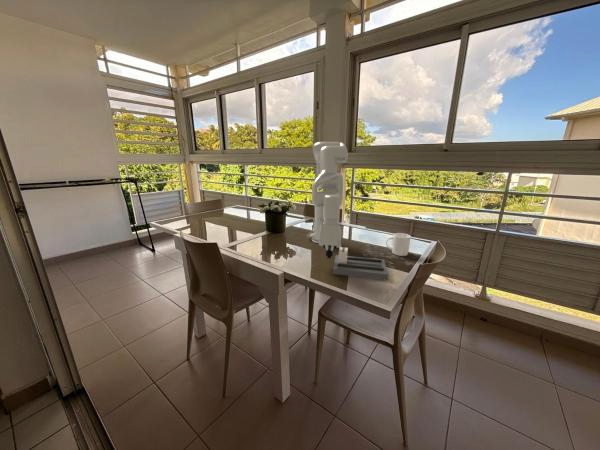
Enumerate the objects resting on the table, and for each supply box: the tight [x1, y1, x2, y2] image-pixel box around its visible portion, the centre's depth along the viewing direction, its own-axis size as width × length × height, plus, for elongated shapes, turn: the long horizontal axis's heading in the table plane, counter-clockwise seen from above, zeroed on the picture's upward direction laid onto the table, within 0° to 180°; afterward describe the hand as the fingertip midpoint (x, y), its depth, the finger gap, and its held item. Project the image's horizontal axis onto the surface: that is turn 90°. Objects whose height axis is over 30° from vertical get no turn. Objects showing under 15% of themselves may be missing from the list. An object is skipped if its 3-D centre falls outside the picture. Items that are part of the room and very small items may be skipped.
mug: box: [386, 232, 411, 257], centre depth 134 cm, size 9×12×11 cm
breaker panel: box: [332, 254, 389, 281], centre depth 115 cm, size 24×16×4 cm, turn 78°
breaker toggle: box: [338, 246, 349, 264], centre depth 115 cm, size 4×6×6 cm, turn 168°
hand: (329, 257), depth 117 cm, fingers closed
